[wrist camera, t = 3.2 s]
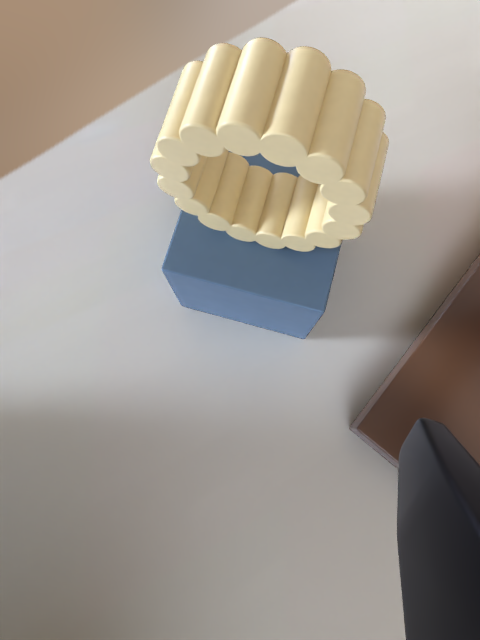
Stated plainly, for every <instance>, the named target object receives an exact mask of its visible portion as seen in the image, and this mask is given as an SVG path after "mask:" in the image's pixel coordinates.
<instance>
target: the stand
mask: <svg viewBox="0 0 480 640" xmlns="http://www.w3.org/2000/svg"><path fill="white" fill-rule="evenodd" d="M419 418H427V419H431V420H434V421H438V422H441V423H443V424H444V425H445V426H446V427H447V428H448V429H449V430H450V431H451V433H452V434H453V435H454V436H455V437H456V438H457V440H458V441H459V442H460V443H461V444H462V445H463V446H464V448H465V449H466V450H467V451H468V452H469V453H470V455H471V456H472V457H473V458H474V459H475V460H476V461H477V463H478V464H479V465H480V254H479V256H478V257H477V258H476V260H475V261H474V262H473V264H472V265H471V266H470V268H469V269H468V270H467V272H466V273H465V274H464V276H463V277H462V278H461V280H460V281H459V282H458V284H457V285H456V286H455V288H454V289H453V290H452V292H451V293H450V294H449V296H448V297H447V298H446V300H445V301H444V302H443V304H442V305H441V306H440V307H439V309H438V310H437V311H436V313H435V314H434V315H433V317H432V318H431V319H430V321H429V322H428V323H427V325H426V326H425V327H424V329H423V330H422V331H421V333H420V334H419V335H418V337H417V338H416V339H415V341H414V342H413V343H412V345H411V346H410V347H409V349H408V350H407V351H406V353H405V354H404V355H403V357H402V358H401V359H400V361H399V362H398V363H397V365H396V366H395V367H394V369H393V370H392V371H391V373H390V374H389V375H388V377H387V378H386V379H385V381H384V382H383V383H382V385H381V386H380V387H379V389H378V390H377V391H376V393H375V394H374V395H373V397H372V398H371V399H370V401H369V402H368V403H367V405H366V406H365V407H364V409H363V410H362V411H361V413H360V414H359V415H358V416H357V418H356V419H355V420H354V422H353V423H352V424H351V426H350V428H349V429H350V430H351V431H352V432H354V433H355V434H356V435H357V436H358V437H360V438H361V439H362V440H363V441H365V442H366V443H367V444H368V445H369V446H371V447H372V448H373V449H374V450H376V451H377V452H378V453H379V454H381V455H382V456H383V457H384V458H385V459H387V460H388V461H389V462H390V463H392V464H393V465H394V466H395V467H396V468H398V469H399V453H400V450H401V447H402V445H403V443H404V441H405V440H406V438H407V436H408V434H409V433H410V431H411V429H412V428H413V426H414V424H415V422H416V421H417V420H418V419H419Z"/></svg>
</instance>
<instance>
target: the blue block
mask: <svg viewBox="0 0 480 640" xmlns="http://www.w3.org/2000/svg"><path fill="white" fill-rule="evenodd" d="M229 152H230V151H229ZM240 156H241V155H240ZM242 157H243V158H245V159H246V160H247V162H248V163H249V166H260V167H263V168H265V169H267V170H269V171H270V172H271V173H272V174H273V175H274V174H276V173H289V174H292V175H294V176H296V177H297V178H298V177H299V176H300V174H299V173H298V171H297V169H296V166H295V167H284V166H279V165H276V164H274V163H271V162H270V161H268V160H267V159H265V158H264V157H263V156H262V155H261V153H259V154H257V155H255V156H242ZM340 247H341V244H340V246H338V247H336V248H321V247H317V246H316V247H315V248H314V249H313V250H312V251H308V252H302V251H296V250H293V249H290V248H288V247H286V246H285V247H284V248H282V249H272V248H268V247H265V246H262V245H260V244H259V243H257V242H256V241H253V242H246V241H241V240H238V239H235V238H233V237H231V236H230V235H229V234H227V232H226V231H219V230H214V229H211V228H209V227H207V226H205V225H204V224H202V223H201V222H200V221H199V219H198V216H197V215H192V214H189V213H187V212H185V211H183V210H181V213H180V216H179V219H178V222H177V225H176V227H175V230H174V233H173V236H172V239H171V242H170V245H169V248H168V251H167V254H166V257H165V260H164V263H163V266H162V271H163V273H164V275H165V277H166V278H167V280H168V282H169V284H170V286H171V287H172V289H173V291H174V293H175V295H176V297H177V298H178V300H179V302H180V304H181V305H182V306H184V307H188V308H191V309H195V310H199V311H202V312H206V313H210V314H213V315H217V316H221V317H224V318H228V319H232V320H235V321H239V322H243V323H246V324H250V325H254V326H257V327H261V328H265V329H268V330H272V331H276V332H279V333H283V334H287V335H290V336H294V337H298V338H301V339H305V338H306V336H307V335H308V334H309V332H310V331H311V330H312V328H313V327H314V326H315V324H316V323H317V321H318V320H319V319H320V317H321V316H322V315H323V313H324V312H325V309H326V305H327V300H328V296H329V292H330V288H331V284H332V280H333V276H334V272H335V268H336V264H337V260H338V255H339V251H340Z"/></svg>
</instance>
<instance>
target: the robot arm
mask: <svg viewBox="0 0 480 640" xmlns="http://www.w3.org/2000/svg"><path fill="white" fill-rule="evenodd" d="M397 541H398V555H399V566H400V577H401V588H402V600H403V611H404V622H405V633H406V640H480V465H479V464H478V463H477V461H476V460H475V459H474V458H473V457H472V456H471V455H470V453H469V452H468V451H467V450H466V449H465V448H464V446H463V445H462V444H461V443H460V442H459V441H458V440H457V438H456V437H455V436H454V435H453V434H452V433H451V431H450V430H449V429H448V428H447V427H446V426H445V425H444V424H443V423H441V422H438V421H434V420H431V419H427V418H419V419H418V420H417V421H416V422H415V424H414V426H413V428H412V429H411V431H410V433H409V434H408V436H407V438H406V440H405V441H404V443H403V445H402V447H401V450H400V453H399V470H398V507H397Z"/></svg>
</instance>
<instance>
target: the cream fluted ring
mask: <svg viewBox="0 0 480 640" xmlns="http://www.w3.org/2000/svg"><path fill="white" fill-rule="evenodd" d="M365 94H366V87H365V84H364V82H363V80H362V79H361V77H359V76H358V75H357V74H355V73H354V72H351V71H348V70H333V71H331V64H330V62H329V60H328V58H327V57H326V56H325V54H323V53H322V52H321V51H319V50H317V49H315V48H312V47H306V46H303V47H297V48H294V49H292V50H291V51H289V52H288V53H286V51H285V49H284V48H283V47H282V46H281V45H280V44H279V43H277V42H275V41H274V40H271V39H268V38H255V39H252V40H250V41H249V42H248V43H247V44H246V45H245V46H244V47H243V50H241V49H239V48H238V47H236V46H234V45H231V44H228V43H218V44H215V45H213V46H212V47H211V48H209V50H208V51H207V53H206V56H205V59H204V62H203V61H191V62H189V63H188V64H186V65H185V67H184V68H183V71H182V73H181V76H180V79H179V82H178V84H177V87H176V90H175V93H174V95H173V98H172V101H171V103H170V106H169V109H168V112H167V114H166V117H165V120H164V122H163V125H162V128H161V131H160V133H159V136H158V139H157V142H156V144H155V147H154V150H153V153H152V155H151V158H150V165H151V167H152V168H153V170H154V171H155V172H157V173H158V174H159V176H158V179H157V184H158V186H159V187H160V189H161V190H163V191H164V192H165V193H167V194H169V195H171V196H173V197H175V204H176V205H177V206H178V207H179V208H180V209H181V210H183V211H185V212H187V213H189V214H192V215H197V216H198V219H199V221H200V222H201V223H202V224H204V225H205V226H207V227H209V228H211V229H214V230H219V231H226V232H227V234H229V235H230V236H231V237H233V238H235V239H238V240H241V241H246V242H253V241H256V242H257V243H259V244H260V245H262V246H265V247H268V248H272V249H282V248H284V247H285V246H286V247H288V248H290V249H293V250H296V251H302V252H308V251H312V250H313V249H314V248H315V247H316V246H317V247H321V248H336V247H338V246H340V244H341V243H342V240H352V239H356V238H358V237H359V236H360V235H361V234H362V230H363V226H364V224H366V223H368V222H369V221H370V220H371V218H372V215H373V210H374V206H375V202H376V197H377V193H378V189H379V184H380V180H381V176H382V171H383V167H384V163H385V158H386V154H387V150H388V145H389V140H388V137H387V136H386V134H385V133H384V132H383V128H384V124H385V119H386V115H385V111H384V109H383V108H382V107H381V106H380V105H379V104H378V103H376V102H374V101H372V100H369V99H364V98H365ZM229 151H230V152H229ZM259 153H261V155H262V156H263V157H264V158H265V159H267V160H268V161H270V162H271V163H274V164H276V165H279V166H284V167H295V166H296V169H297V171H298V173H299V174H300V176H299V177H298V178H297V177H296V176H294V175H292V174H289V173H276V174H274V175H273V174H272V173H271V172H270V171H269V170H267V169H265V168H263V167H260V166H249V163H248V162H247V160H246V159H245V158H243V157H242V156H255V155H257V154H259ZM240 155H241V156H240Z"/></svg>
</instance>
